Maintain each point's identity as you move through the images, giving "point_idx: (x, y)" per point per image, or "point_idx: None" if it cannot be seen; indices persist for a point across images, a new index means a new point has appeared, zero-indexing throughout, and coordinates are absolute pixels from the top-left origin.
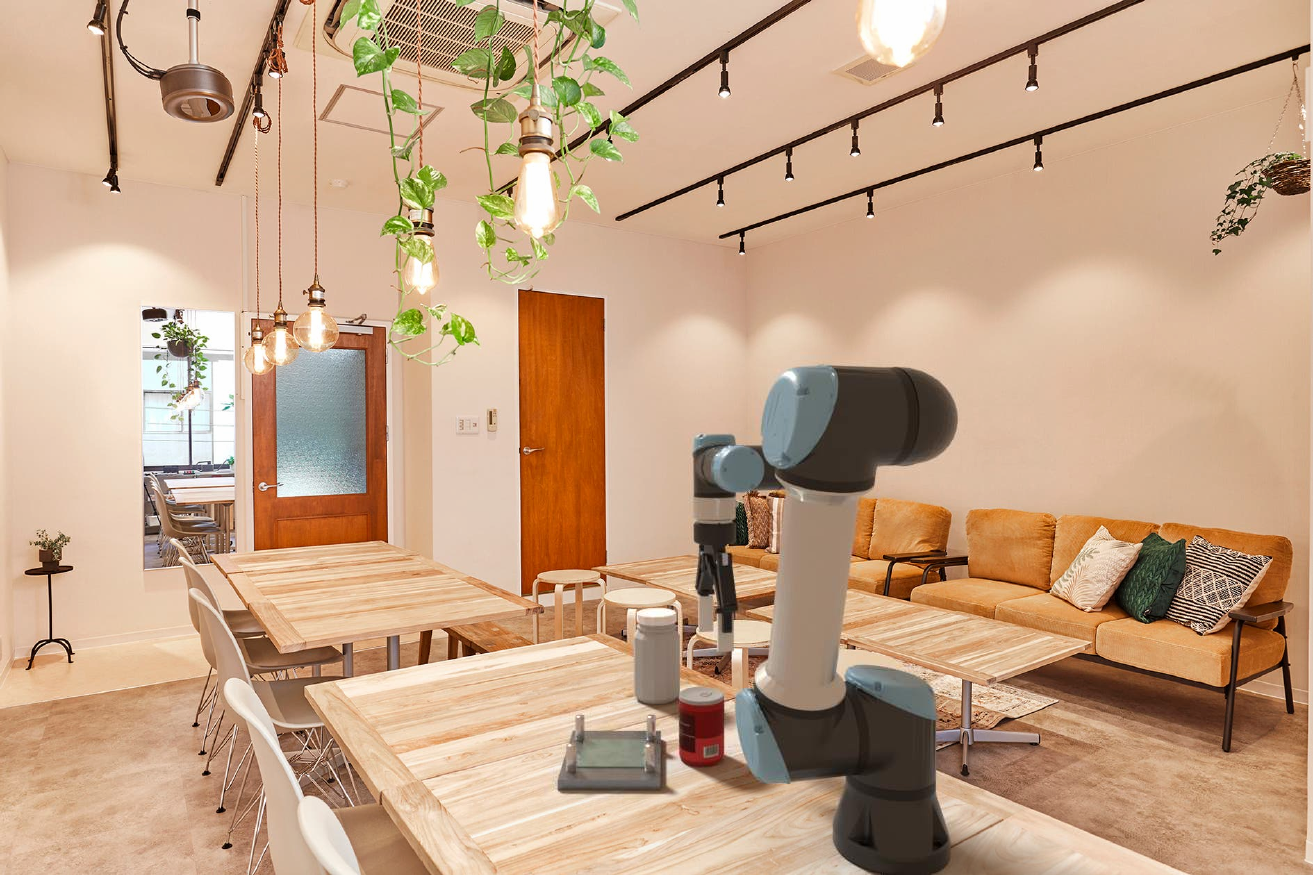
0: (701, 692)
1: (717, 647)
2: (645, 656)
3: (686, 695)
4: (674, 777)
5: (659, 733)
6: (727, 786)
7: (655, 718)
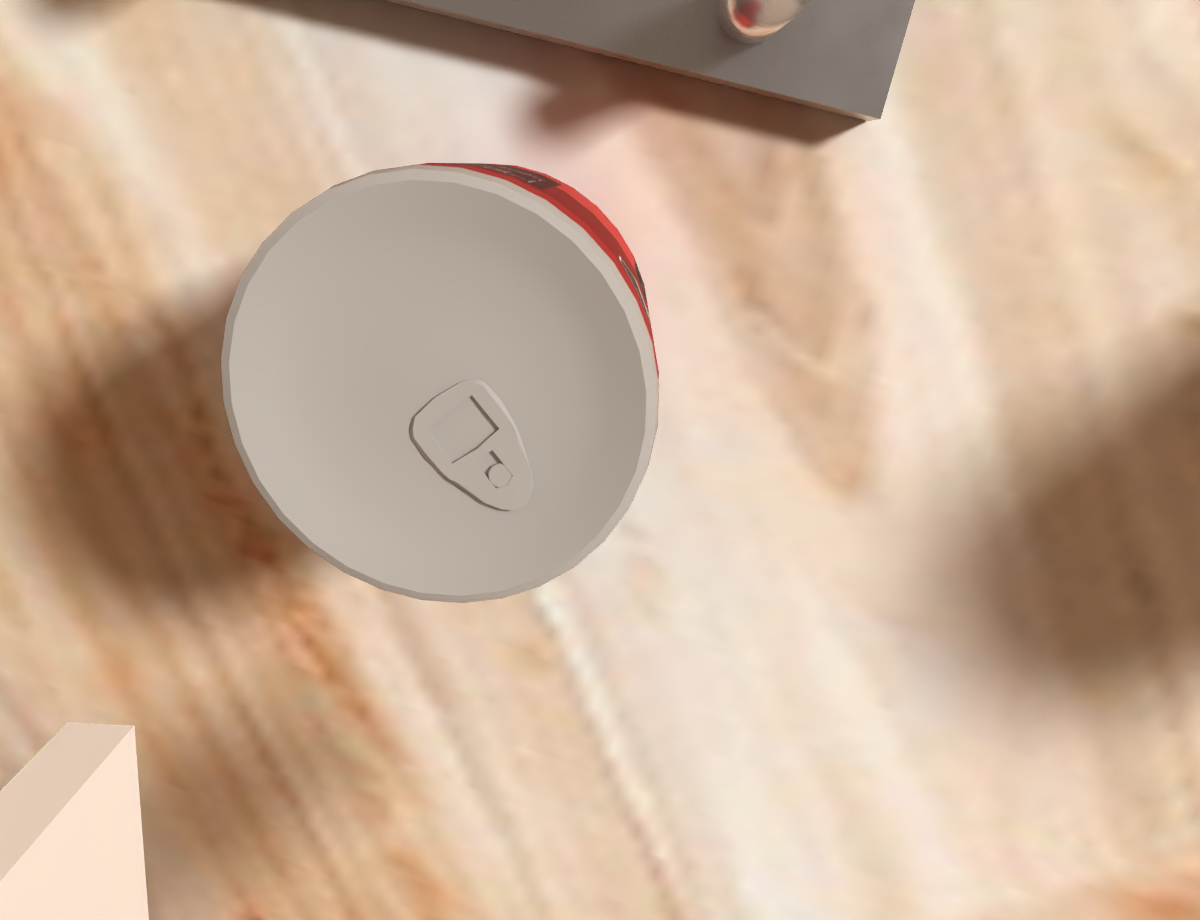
0: (538, 420)
1: (81, 752)
2: None
3: (479, 252)
4: (255, 64)
5: (833, 96)
6: (97, 348)
7: (749, 21)
